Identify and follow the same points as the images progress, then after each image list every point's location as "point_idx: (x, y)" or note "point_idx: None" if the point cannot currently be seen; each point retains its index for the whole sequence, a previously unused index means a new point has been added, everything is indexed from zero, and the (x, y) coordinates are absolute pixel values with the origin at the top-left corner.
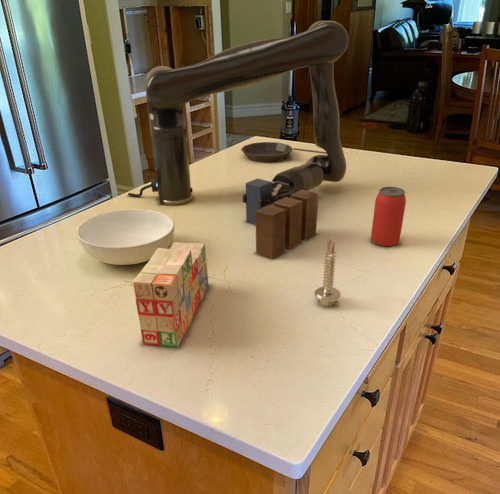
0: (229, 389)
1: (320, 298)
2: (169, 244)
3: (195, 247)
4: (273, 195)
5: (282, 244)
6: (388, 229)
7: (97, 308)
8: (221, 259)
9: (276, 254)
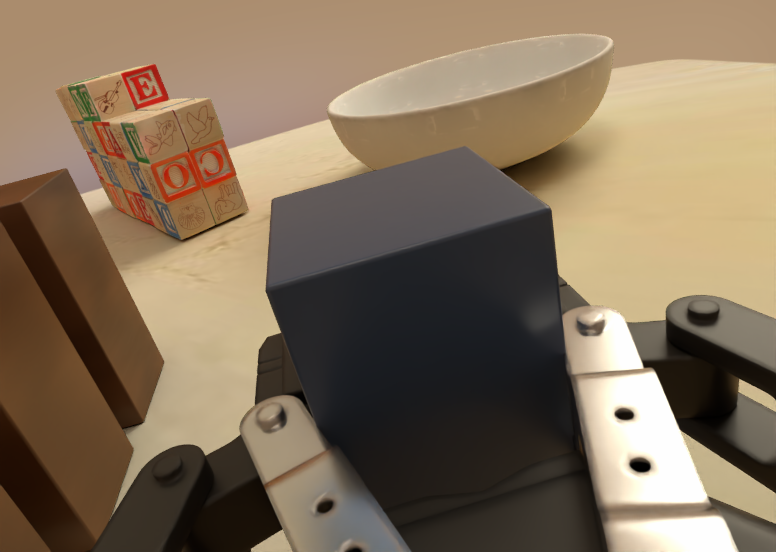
0: None
1: None
2: (371, 160)
3: (142, 116)
4: (248, 413)
5: None
6: None
7: (307, 151)
8: (254, 279)
9: None
